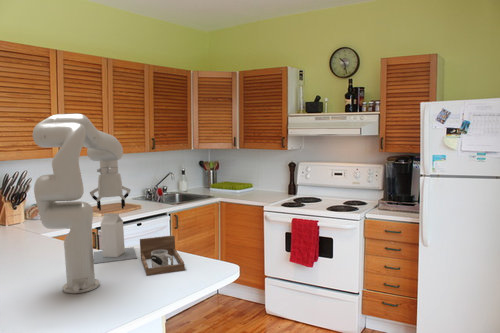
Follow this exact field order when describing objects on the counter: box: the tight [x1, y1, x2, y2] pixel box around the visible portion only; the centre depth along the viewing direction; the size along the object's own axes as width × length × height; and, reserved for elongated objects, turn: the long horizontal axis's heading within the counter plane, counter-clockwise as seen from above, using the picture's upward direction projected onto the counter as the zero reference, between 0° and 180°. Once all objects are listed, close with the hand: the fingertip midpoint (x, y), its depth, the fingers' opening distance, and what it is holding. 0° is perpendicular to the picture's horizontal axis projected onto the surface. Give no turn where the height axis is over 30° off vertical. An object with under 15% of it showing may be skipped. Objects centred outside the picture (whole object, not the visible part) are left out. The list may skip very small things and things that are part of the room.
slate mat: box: [93, 246, 138, 265], centre depth 197 cm, size 18×18×1 cm
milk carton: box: [100, 212, 126, 257], centre depth 196 cm, size 7×7×19 cm
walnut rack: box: [139, 234, 186, 276], centre depth 182 cm, size 22×15×9 cm, turn 19°
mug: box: [151, 250, 174, 268], centre depth 177 cm, size 10×7×7 cm
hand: (111, 209), depth 194 cm, fingers open, 9 cm apart
